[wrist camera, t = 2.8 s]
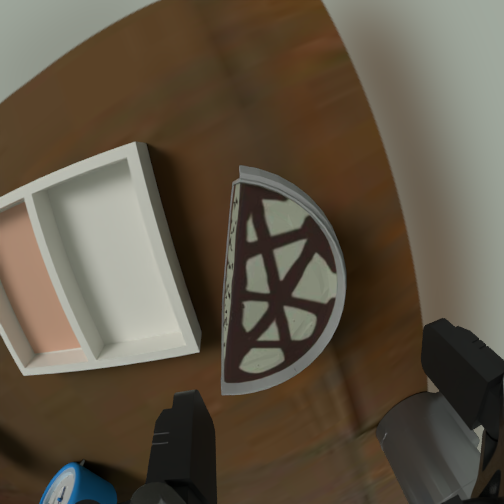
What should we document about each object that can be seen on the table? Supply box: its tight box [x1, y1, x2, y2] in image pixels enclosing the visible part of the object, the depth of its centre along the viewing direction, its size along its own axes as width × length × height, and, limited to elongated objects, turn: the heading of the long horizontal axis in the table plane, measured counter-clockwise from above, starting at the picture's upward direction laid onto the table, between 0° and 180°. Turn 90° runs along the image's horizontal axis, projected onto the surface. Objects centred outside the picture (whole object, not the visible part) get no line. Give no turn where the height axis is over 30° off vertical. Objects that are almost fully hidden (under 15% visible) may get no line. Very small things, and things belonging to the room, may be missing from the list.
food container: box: [221, 165, 346, 395], centre depth 20 cm, size 12×6×10 cm, turn 174°
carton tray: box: [0, 142, 202, 375], centre depth 22 cm, size 18×16×3 cm
